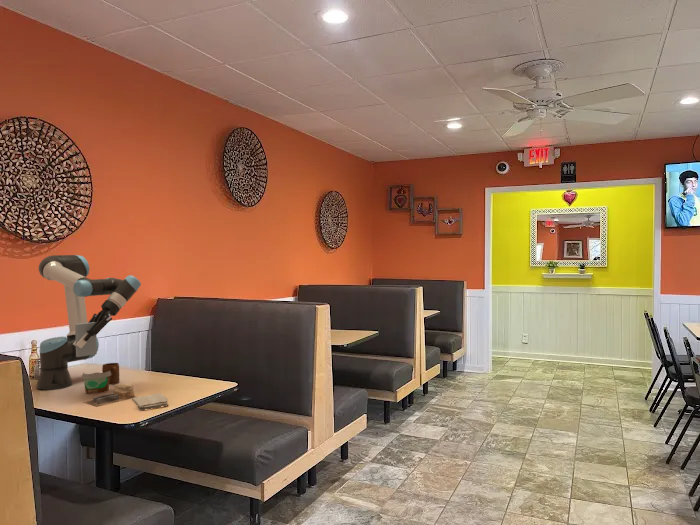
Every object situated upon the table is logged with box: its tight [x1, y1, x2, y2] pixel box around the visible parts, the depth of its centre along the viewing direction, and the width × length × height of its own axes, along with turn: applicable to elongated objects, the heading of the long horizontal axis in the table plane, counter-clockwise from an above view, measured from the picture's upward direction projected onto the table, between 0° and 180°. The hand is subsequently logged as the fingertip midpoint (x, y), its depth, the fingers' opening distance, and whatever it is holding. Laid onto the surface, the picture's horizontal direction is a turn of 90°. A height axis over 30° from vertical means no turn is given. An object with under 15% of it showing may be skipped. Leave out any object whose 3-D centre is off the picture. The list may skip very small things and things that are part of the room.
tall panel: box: [75, 322, 98, 357], centre depth 230 cm, size 8×2×14 cm, turn 141°
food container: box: [81, 371, 111, 395], centre depth 238 cm, size 12×6×10 cm, turn 105°
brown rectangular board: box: [82, 392, 137, 408], centre depth 225 cm, size 18×12×3 cm, turn 142°
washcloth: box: [132, 392, 169, 411], centre depth 221 cm, size 12×18×3 cm, turn 34°
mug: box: [101, 362, 120, 386], centre depth 259 cm, size 12×8×9 cm, turn 41°
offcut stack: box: [113, 383, 135, 399], centre depth 230 cm, size 5×8×5 cm
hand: (77, 346), depth 227 cm, fingers closed on tall panel, 2 cm apart
